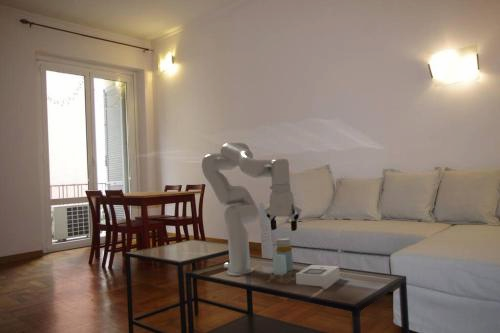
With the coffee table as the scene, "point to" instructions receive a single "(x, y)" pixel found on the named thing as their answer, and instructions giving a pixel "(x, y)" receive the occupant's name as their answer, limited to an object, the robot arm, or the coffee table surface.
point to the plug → (279, 264)
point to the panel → (318, 276)
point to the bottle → (285, 251)
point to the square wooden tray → (281, 278)
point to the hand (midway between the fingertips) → (283, 230)
